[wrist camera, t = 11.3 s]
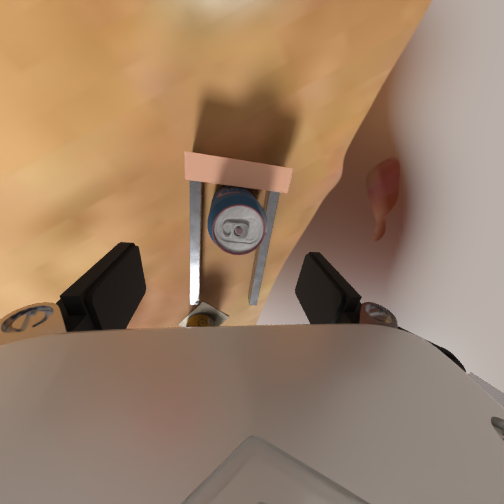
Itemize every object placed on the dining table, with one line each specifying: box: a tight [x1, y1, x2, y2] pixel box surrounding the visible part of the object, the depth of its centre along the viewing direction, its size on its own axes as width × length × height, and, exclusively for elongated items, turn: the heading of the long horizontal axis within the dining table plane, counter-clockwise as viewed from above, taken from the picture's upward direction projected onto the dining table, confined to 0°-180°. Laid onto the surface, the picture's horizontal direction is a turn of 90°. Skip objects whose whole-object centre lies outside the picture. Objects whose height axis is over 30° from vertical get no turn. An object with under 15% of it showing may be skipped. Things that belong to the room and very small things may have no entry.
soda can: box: [208, 185, 268, 255], centre depth 25 cm, size 7×7×12 cm
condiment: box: [179, 302, 229, 327], centre depth 36 cm, size 7×8×12 cm
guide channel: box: [190, 152, 282, 305], centre depth 32 cm, size 26×13×2 cm, turn 172°
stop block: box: [185, 151, 293, 193], centre depth 25 cm, size 3×13×6 cm, turn 82°
